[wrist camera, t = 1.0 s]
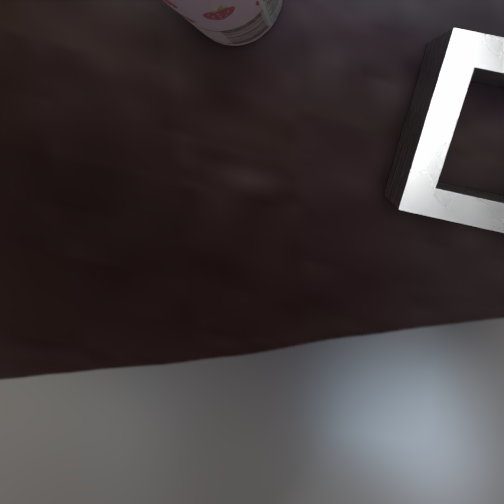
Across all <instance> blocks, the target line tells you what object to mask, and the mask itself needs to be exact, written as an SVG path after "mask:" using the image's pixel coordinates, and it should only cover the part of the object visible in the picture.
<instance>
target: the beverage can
mask: <svg viewBox="0 0 504 504" xmlns="http://www.w3.org/2000/svg"><path fill="white" fill-rule="evenodd" d="M163 1H164V2H166V3H167V4H168V5H169V6H170V7H172V8H173V9H174V10H175V11H177V12H178V13H179V14H180V15H181V16H183V17H184V18H185V19H186V20H188V21H189V22H190V23H191V24H192V25H194V26H195V27H196V28H197V29H199V30H200V31H201V32H202V33H203V34H205V35H206V36H207V37H209V38H210V39H212V40H214V41H215V42H218V43H221V44H224V45H231V46H238V45H245V44H248V43H251V42H254V41H255V40H257V39H258V38H260V37H262V36H263V35H264V34H265V33H266V32H267V31H268V30H269V29H270V28H271V27H272V25H273V24H274V22H275V21H276V19H277V17H278V15H279V13H280V10H281V7H282V2H283V0H163Z"/></svg>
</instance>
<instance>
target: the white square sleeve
mask: <svg viewBox="0 0 504 504" xmlns="http://www.w3.org/2000/svg"><path fill="white" fill-rule="evenodd" d="M470 81H474V82H479V83H484V84H489V85H493V86H498V87H503V88H504V38H503V37H498V36H493V35H488V34H483V33H478V32H473V31H468V30H464V29H459V28H452V29H451V30H449V31H447V32H445V33H444V34H442V35H440V36H439V37H437V38H435V39H434V40H432V41H430V42H429V43H428V44H427V48H426V51H425V54H424V58H423V61H422V65H421V68H420V72H419V75H418V78H417V82H416V85H415V89H414V92H413V96H412V99H411V102H410V106H409V109H408V113H407V116H406V120H405V123H404V127H403V130H402V133H401V137H400V140H399V144H398V147H397V151H396V154H395V157H394V161H393V164H392V168H391V171H390V175H389V178H388V181H387V185H386V188H385V192H384V195H385V196H386V197H387V198H388V199H389V200H390V201H391V203H392V204H393V205H394V206H395V207H396V208H397V209H398V210H402V211H407V212H411V213H416V214H420V215H425V216H429V217H434V218H438V219H443V220H447V221H452V222H456V223H461V224H465V225H470V226H474V227H479V228H483V229H488V230H493V231H497V232H502V233H504V196H502V195H498V194H493V193H488V192H484V191H479V190H475V189H470V188H465V187H461V186H456V185H452V184H447V183H442V182H438V179H439V176H440V172H441V169H442V166H443V163H444V160H445V157H446V154H447V151H448V148H449V145H450V142H451V138H452V135H453V132H454V129H455V126H456V123H457V120H458V117H459V114H460V111H461V108H462V104H463V101H464V98H465V95H466V92H467V89H468V86H469V83H470Z"/></svg>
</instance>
